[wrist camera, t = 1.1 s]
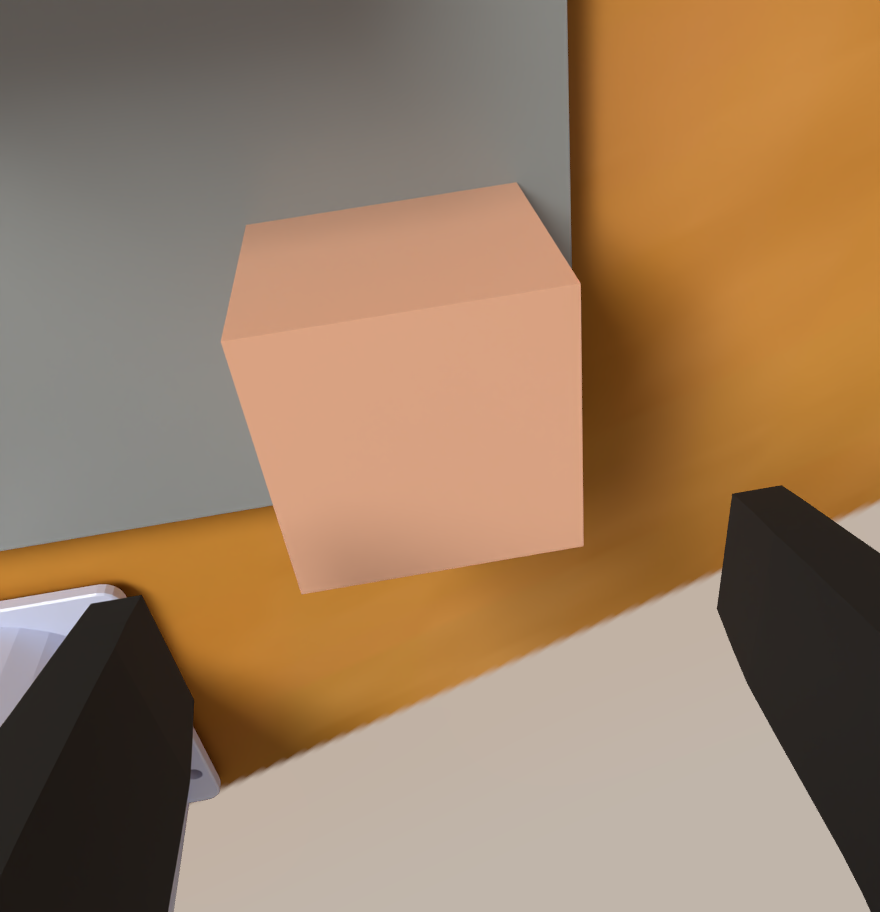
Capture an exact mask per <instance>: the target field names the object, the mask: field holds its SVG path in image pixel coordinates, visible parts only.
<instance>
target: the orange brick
mask: <svg viewBox="0 0 880 912" xmlns="http://www.w3.org/2000/svg"><path fill="white" fill-rule="evenodd" d="M221 344H222V347H223V351H224V354H225V357H226V360H227V363H228V366H229V369H230V372H231V375H232V379H233V382H234V385H235V388H236V391H237V394H238V397H239V400H240V404H241V407H242V410H243V413H244V416H245V419H246V422H247V425H248V429H249V432H250V435H251V438H252V441H253V444H254V447H255V450H256V453H257V457H258V460H259V463H260V466H261V469H262V472H263V475H264V478H265V482H266V485H267V488H268V491H269V494H270V497H271V500H272V503H273V506H274V510H275V513H276V516H277V519H278V522H279V525H280V528H281V531H282V535H283V538H284V541H285V544H286V547H287V550H288V553H289V556H290V560H291V563H292V566H293V569H294V572H295V575H296V578H297V581H298V584H299V588H300V591H301V594H306V593H312V592H318V591H324V590H330V589H335V588H341V587H347V586H353V585H359V584H365V583H371V582H376V581H382V580H388V579H394V578H400V577H406V576H412V575H417V574H423V573H429V572H435V571H441V570H447V569H453V568H458V567H464V566H470V565H476V564H482V563H488V562H494V561H499V560H505V559H511V558H517V557H523V556H529V555H535V554H540V553H546V552H552V551H558V550H564V549H570V548H576V547H581V546H584V539H583V447H582V355H581V283H580V281H579V280H578V278H577V277H576V275H575V274H574V272H573V270H572V269H571V267H570V266H569V264H568V263H567V261H566V259H565V258H564V256H563V255H562V253H561V252H560V250H559V248H558V247H557V245H556V244H555V242H554V240H553V239H552V237H551V236H550V234H549V233H548V231H547V229H546V228H545V226H544V225H543V223H542V222H541V220H540V218H539V217H538V215H537V214H536V212H535V211H534V209H533V207H532V206H531V204H530V203H529V201H528V200H527V198H526V196H525V195H524V193H523V192H522V190H521V188H520V187H519V185H518V184H517V182H515V183H509V184H502V185H496V186H490V187H483V188H477V189H471V190H464V191H458V192H452V193H445V194H439V195H433V196H426V197H420V198H414V199H407V200H401V201H395V202H388V203H382V204H376V205H369V206H363V207H357V208H350V209H344V210H338V211H331V212H325V213H319V214H312V215H306V216H300V217H293V218H287V219H281V220H274V221H268V222H262V223H255V224H249V225H246V227H245V232H244V236H243V241H242V246H241V250H240V255H239V259H238V264H237V269H236V273H235V278H234V283H233V287H232V292H231V296H230V301H229V306H228V310H227V315H226V319H225V324H224V329H223V333H222V338H221Z"/></svg>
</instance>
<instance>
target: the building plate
mask: <svg viewBox="0 0 880 912" xmlns="http://www.w3.org/2000/svg"><path fill="white" fill-rule="evenodd" d="M515 182H517V184H518V185H519V187H520V188H521V190H522V192H523V193H524V195H525V196H526V198H527V200H528V201H529V203H530V204H531V206H532V207H533V209H534V211H535V212H536V214H537V215H538V217H539V218H540V220H541V222H542V223H543V225H544V226H545V228H546V229H547V231H548V233H549V234H550V236H551V237H552V239H553V240H554V242H555V244H556V245H557V247H558V248H559V250H560V252H561V253H562V255H563V256H564V258H565V259H566V261H567V263H568V264H569V266H570V267H571V269H572V253H571V198H570V142H569V87H568V31H567V0H0V551H3V550H9V549H15V548H21V547H27V546H33V545H39V544H45V543H51V542H57V541H63V540H69V539H75V538H81V537H87V536H93V535H98V534H104V533H110V532H116V531H122V530H128V529H134V528H140V527H146V526H152V525H158V524H164V523H170V522H176V521H182V520H188V519H194V518H200V517H206V516H212V515H218V514H224V513H230V512H236V511H242V510H248V509H254V508H260V507H266V506H272V505H273V503H272V500H271V497H270V494H269V491H268V488H267V485H266V482H265V478H264V475H263V472H262V469H261V466H260V463H259V460H258V457H257V453H256V450H255V447H254V444H253V441H252V438H251V435H250V432H249V429H248V425H247V422H246V419H245V416H244V413H243V410H242V407H241V404H240V400H239V397H238V394H237V391H236V388H235V385H234V382H233V379H232V375H231V372H230V369H229V366H228V363H227V360H226V357H225V354H224V351H223V347H222V344H221V338H222V333H223V329H224V324H225V319H226V315H227V310H228V306H229V301H230V296H231V292H232V287H233V283H234V278H235V273H236V269H237V264H238V259H239V255H240V250H241V246H242V241H243V236H244V232H245V227H246V225H249V224H255V223H262V222H268V221H274V220H281V219H287V218H293V217H300V216H306V215H312V214H319V213H325V212H331V211H338V210H344V209H350V208H357V207H363V206H369V205H376V204H382V203H388V202H395V201H401V200H407V199H414V198H420V197H426V196H433V195H439V194H445V193H452V192H458V191H464V190H471V189H477V188H483V187H490V186H496V185H502V184H509V183H515Z"/></svg>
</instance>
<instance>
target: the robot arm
mask: <svg viewBox="0 0 880 912" xmlns="http://www.w3.org/2000/svg"><path fill="white" fill-rule="evenodd" d="M717 610H718V613H719V615H720V618H721V620H722V622H723V625H724V628H725V630H726V633H727V636H728V638H729V641H730V643H731V646H732V648H733V651H734V653H735V655H736V658H737V660H738V662H739V665H740V667H741V670H742V672H743V674H744V677H745V679H746V681H747V684H748V686H749V687H750V689H751V691H752V693H753V695H754V697H755V699H756V700H757V702H758V704H759V706H760V708H761V709H762V711H763V713H764V715H765V717H766V719H767V720H768V722H769V724H770V726H771V727H772V729H773V731H774V733H775V735H776V737H777V739H778V740H779V742H780V744H781V746H782V747H783V749H784V751H785V753H786V755H787V756H788V758H789V760H790V762H791V763H792V765H793V767H794V769H795V771H796V772H797V774H798V776H799V778H800V779H801V781H802V783H803V785H804V786H805V788H806V790H807V792H808V794H809V795H810V797H811V799H812V801H813V803H814V804H815V806H816V808H817V809H818V812H819V813H820V815H821V817H822V819H823V820H824V822H825V824H826V826H827V828H828V829H829V831H830V833H831V835H832V836H833V838H834V840H835V842H836V844H837V845H838V847H839V849H840V851H841V853H842V854H843V856H844V858H845V860H846V862H847V864H848V866H849V868H850V870H851V872H852V874H853V876H854V878H855V880H856V882H857V884H858V886H859V887H860V890H861V891H862V893H863V896H864V898H865V900H866V902H867V904H868V907H869V909H870V911H871V912H880V553H879V552H877V551H876V550H874V549H873V548H871V547H870V546H868V545H867V544H866V543H864V542H863V541H861V540H860V539H858V538H857V537H856V536H854V535H853V534H851V533H850V532H848V531H847V530H845V529H844V528H843V527H841V526H840V525H838V524H837V523H836V522H834V521H833V520H831V519H830V518H828V517H827V516H826V515H824V514H823V513H821V512H820V511H818V510H817V509H816V508H814V507H813V506H811V505H810V504H808V503H807V502H806V501H804V500H803V499H801V498H800V497H798V496H797V495H795V494H794V493H792V492H791V491H789V490H788V489H786V488H785V487H783V486H782V485H781V486H775V487H769V488H763V489H758V490H752V491H746V492H740V493H734V494H732V500H731V508H730V515H729V523H728V530H727V538H726V545H725V553H724V560H723V568H722V575H721V583H720V591H719V598H718V606H717ZM193 714H194V699H193V697H192V695H191V693H190V691H189V689H188V687H187V685H186V683H185V681H184V679H183V677H182V675H181V673H180V671H179V669H178V667H177V665H176V663H175V661H174V659H173V657H172V655H171V653H170V651H169V649H168V647H167V645H166V643H165V641H164V639H163V637H162V635H161V633H160V631H159V629H158V627H157V625H156V623H155V621H154V619H153V617H152V615H151V613H150V611H149V609H148V607H147V605H146V603H145V601H144V599H143V597H142V595H139V596H133V597H126V595H125V594H124V592H123V591H122V590H121V589H119V588H117V587H115V586H112V585H108V584H98V585H92V586H87V587H81V588H75V589H69V590H63V591H57V592H51V593H45V594H39V595H33V596H27V597H22V598H16V599H10V600H4V601H0V912H174V905H175V898H176V891H177V884H178V877H179V870H180V863H181V856H182V849H183V842H184V835H185V828H186V821H187V814H188V807H189V803H191V802H197V801H203V800H208V799H211V798H213V797H215V796H216V795H218V793H219V792H220V785H221V781H220V778H219V776H218V774H217V772H216V770H215V768H214V766H213V764H212V762H211V760H210V758H209V756H208V754H207V752H206V750H205V748H204V747H203V745H202V743H201V741H200V739H199V737H198V735H197V733H196V731H195V729H194V727H193Z"/></svg>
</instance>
